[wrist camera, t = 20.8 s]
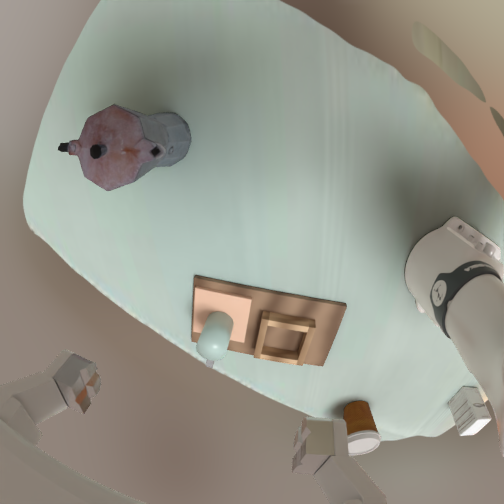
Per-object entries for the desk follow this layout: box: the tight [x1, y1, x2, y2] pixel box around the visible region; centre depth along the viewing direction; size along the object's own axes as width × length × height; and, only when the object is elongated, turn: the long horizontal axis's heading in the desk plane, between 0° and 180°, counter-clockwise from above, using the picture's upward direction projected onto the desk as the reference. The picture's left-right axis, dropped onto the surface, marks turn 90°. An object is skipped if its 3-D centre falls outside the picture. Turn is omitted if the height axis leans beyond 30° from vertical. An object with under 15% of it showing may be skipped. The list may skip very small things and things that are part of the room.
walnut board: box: [192, 275, 347, 366], centre depth 51 cm, size 27×15×4 cm, turn 82°
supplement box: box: [448, 387, 491, 436], centre depth 50 cm, size 7×7×13 cm
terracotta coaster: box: [193, 286, 252, 343], centre depth 51 cm, size 10×10×1 cm
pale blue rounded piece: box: [196, 311, 234, 368], centre depth 49 cm, size 8×5×8 cm, turn 169°
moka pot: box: [58, 105, 191, 191], centre depth 33 cm, size 10×15×20 cm, turn 85°
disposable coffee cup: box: [343, 401, 381, 455], centre depth 54 cm, size 10×10×12 cm
